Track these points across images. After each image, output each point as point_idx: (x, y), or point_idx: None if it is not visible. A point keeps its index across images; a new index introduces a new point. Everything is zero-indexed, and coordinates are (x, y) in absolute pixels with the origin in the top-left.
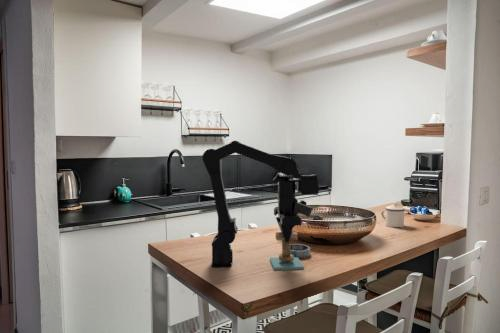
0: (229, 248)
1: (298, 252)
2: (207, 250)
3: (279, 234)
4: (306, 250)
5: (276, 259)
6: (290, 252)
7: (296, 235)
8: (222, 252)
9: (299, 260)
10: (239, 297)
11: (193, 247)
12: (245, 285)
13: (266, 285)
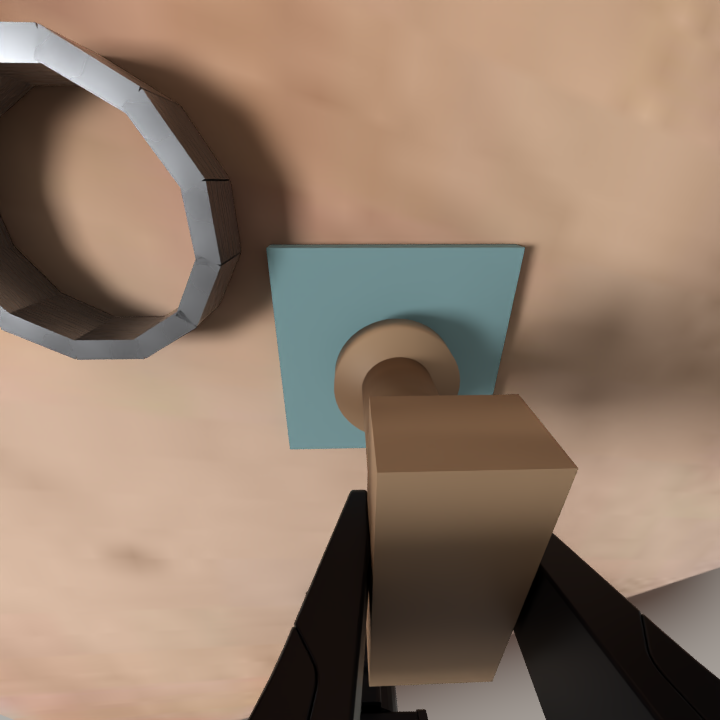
0: (381, 696)
1: (221, 238)
2: (156, 652)
3: (494, 664)
4: (165, 124)
5: (326, 415)
6: (207, 311)
7: (554, 466)
8: (395, 691)
9: (360, 251)
10: (716, 560)
11: (124, 684)
12: (620, 545)
13: (663, 482)
